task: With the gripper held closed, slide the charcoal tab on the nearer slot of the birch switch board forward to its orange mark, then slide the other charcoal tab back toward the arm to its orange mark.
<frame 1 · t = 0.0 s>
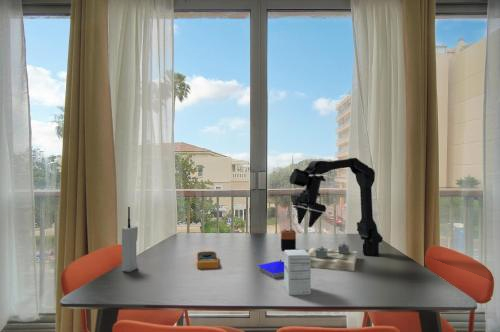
hand: (304, 225, 146), 15 cm above the table, tool pointing down, fingers open, 9 cm apart
battery: (288, 250, 167), on the table
multimeter: (207, 264, 146), on the table
vintage mobile phone: (130, 270, 136), on the table
switch board: (330, 262, 146), on the table
switch tab b: (321, 252, 142), point 5 cm above the table, slide at 8.0 cm
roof: (278, 273, 132), on the table
switch tab a: (343, 248, 149), point 5 cm above the table, slide at 0.0 cm
supplement box: (297, 291, 112), on the table
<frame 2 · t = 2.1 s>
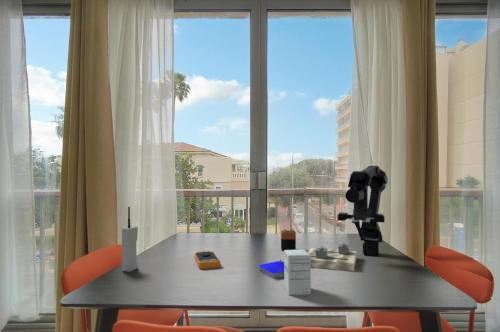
hand: (360, 237, 146), 10 cm above the table, tool pointing down, fingers closed
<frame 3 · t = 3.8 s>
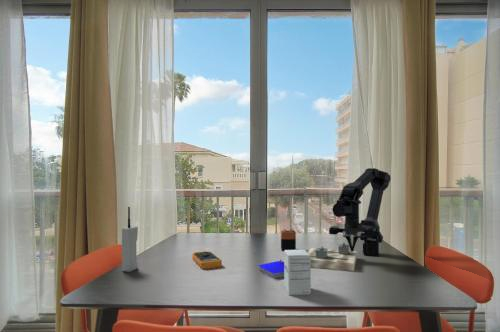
hand: (352, 251, 147), 4 cm above the table, tool pointing down, fingers closed
switch tab a: (343, 248, 149), point 5 cm above the table, slide at 0.0 cm, touching gripper
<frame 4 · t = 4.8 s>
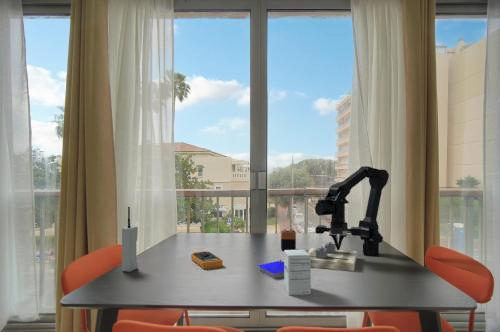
hand: (338, 250, 149), 4 cm above the table, tool pointing down, fingers closed
switch tab a: (330, 247, 151), point 5 cm above the table, slide at 5.8 cm, touching gripper
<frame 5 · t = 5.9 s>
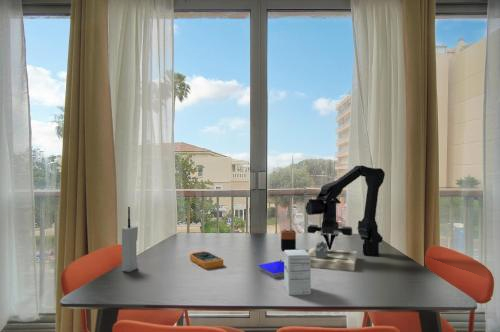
hand: (329, 249, 151), 4 cm above the table, tool pointing down, fingers closed
switch tab a: (321, 246, 152), point 5 cm above the table, slide at 9.4 cm, touching gripper
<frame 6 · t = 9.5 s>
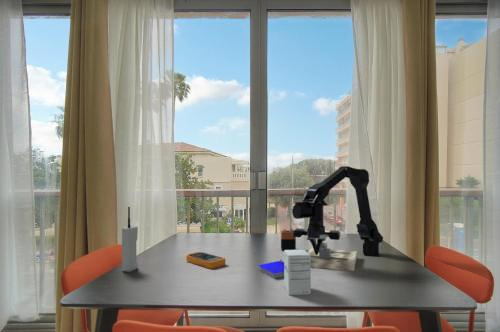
hand: (316, 254, 143), 4 cm above the table, tool pointing down, fingers closed
switch tab b: (325, 252, 142), point 5 cm above the table, slide at 6.6 cm, touching gripper
switch tab a: (321, 246, 152), point 5 cm above the table, slide at 9.4 cm
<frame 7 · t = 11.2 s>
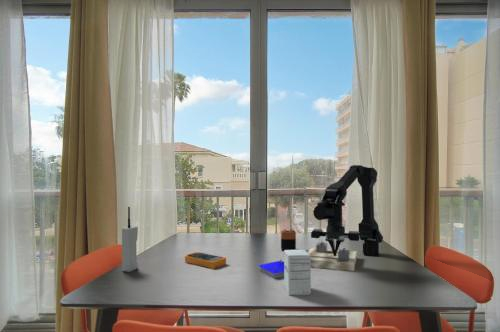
hand: (335, 256, 140), 4 cm above the table, tool pointing down, fingers closed
switch tab b: (343, 253, 139), point 5 cm above the table, slide at -0.9 cm, touching gripper
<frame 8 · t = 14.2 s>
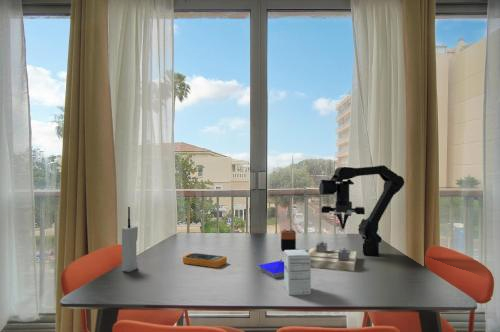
hand: (343, 228, 157), 12 cm above the table, tool pointing down, fingers closed
switch tab b: (343, 253, 139), point 5 cm above the table, slide at -0.9 cm
at the end: switch tab a slide at 9.4 cm; switch tab b slide at -0.9 cm; battery moved 0.2 cm from its start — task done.
